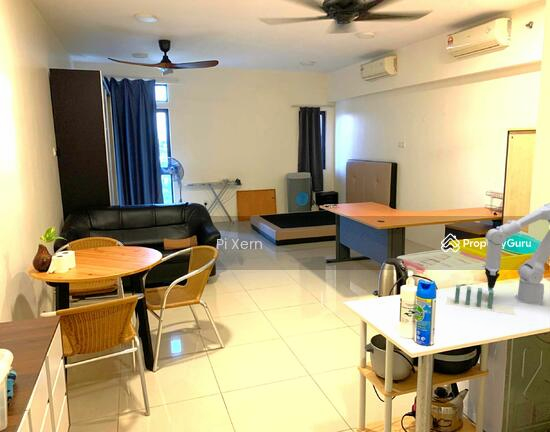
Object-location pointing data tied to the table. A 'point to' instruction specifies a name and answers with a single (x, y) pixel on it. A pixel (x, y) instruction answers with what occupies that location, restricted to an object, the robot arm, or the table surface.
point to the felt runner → (482, 306)
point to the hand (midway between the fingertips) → (490, 285)
